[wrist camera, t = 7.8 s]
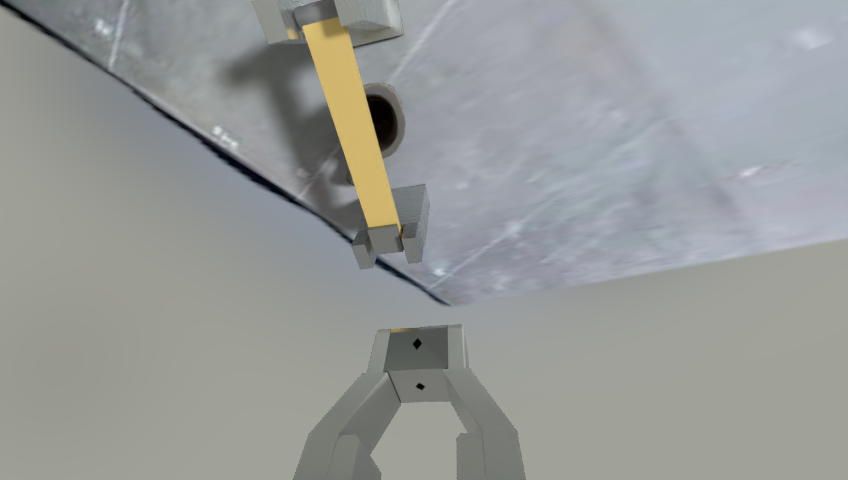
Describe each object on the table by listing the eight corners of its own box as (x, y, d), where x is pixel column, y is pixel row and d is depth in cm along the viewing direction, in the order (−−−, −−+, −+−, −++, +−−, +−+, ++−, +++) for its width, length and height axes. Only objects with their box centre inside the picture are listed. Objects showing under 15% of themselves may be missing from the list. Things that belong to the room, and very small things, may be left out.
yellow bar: (299, 8, 22) (288, 5, 21) (342, -3, 22) (334, -8, 20) (377, 245, 33) (373, 255, 32) (407, 241, 33) (405, 251, 31)
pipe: (342, 166, 39) (321, 191, 33) (372, 62, 33) (352, 68, 26) (386, 184, 40) (374, 213, 34) (423, 87, 34) (417, 99, 27)
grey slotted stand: (308, 8, 30) (231, -11, 19) (394, -16, 29) (363, -50, 18) (323, 54, 32) (261, 60, 22) (404, 34, 31) (381, 30, 20)
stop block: (375, 192, 41) (349, 246, 30) (425, 184, 40) (417, 237, 29) (381, 211, 43) (358, 269, 32) (429, 204, 41) (423, 261, 31)
